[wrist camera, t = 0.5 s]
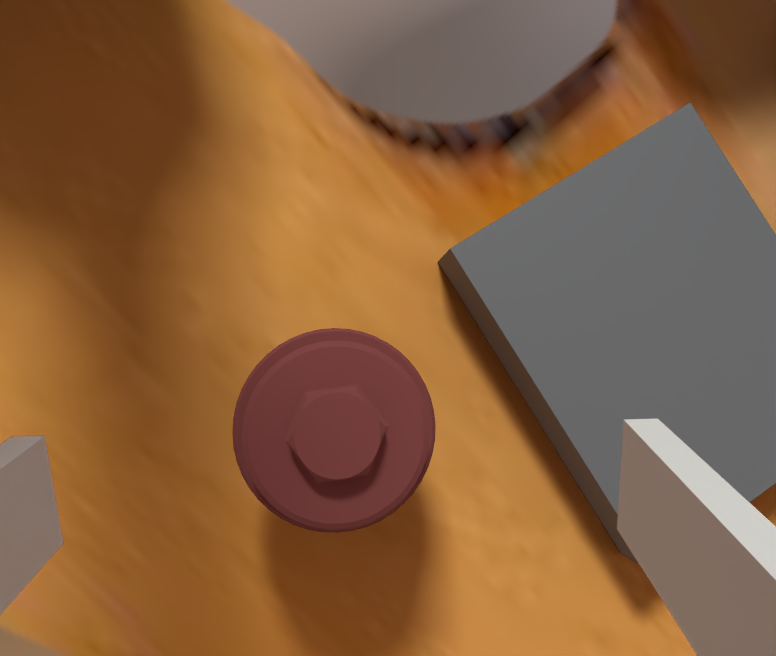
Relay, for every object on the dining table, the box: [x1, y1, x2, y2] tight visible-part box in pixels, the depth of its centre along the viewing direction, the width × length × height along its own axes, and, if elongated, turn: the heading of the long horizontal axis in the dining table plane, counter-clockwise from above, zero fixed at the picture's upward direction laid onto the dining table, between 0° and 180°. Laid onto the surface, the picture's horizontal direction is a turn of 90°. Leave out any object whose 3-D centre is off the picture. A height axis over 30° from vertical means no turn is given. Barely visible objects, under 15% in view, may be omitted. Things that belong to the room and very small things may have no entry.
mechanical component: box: [233, 328, 435, 532], centre depth 33 cm, size 12×10×10 cm
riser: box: [438, 103, 776, 564], centre depth 40 cm, size 22×18×4 cm
